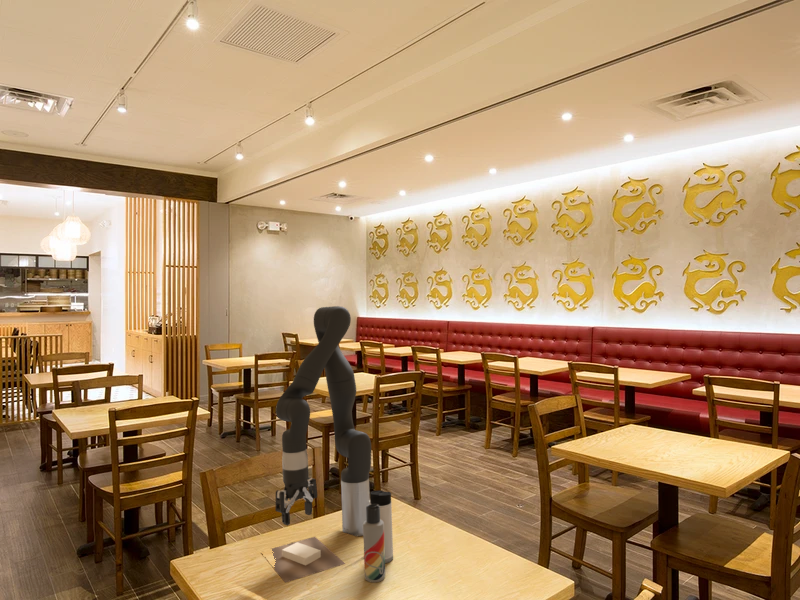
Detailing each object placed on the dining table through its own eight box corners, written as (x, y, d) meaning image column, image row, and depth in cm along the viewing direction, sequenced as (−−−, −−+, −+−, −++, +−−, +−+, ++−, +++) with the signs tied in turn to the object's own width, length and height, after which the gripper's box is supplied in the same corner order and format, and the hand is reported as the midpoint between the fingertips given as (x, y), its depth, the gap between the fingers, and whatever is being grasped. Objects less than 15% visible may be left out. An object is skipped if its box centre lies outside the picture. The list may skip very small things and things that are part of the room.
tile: (282, 549, 160) (305, 558, 154) (297, 542, 165) (320, 550, 159) (282, 556, 160) (305, 565, 154) (297, 548, 165) (320, 557, 159)
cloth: (314, 539, 173) (314, 536, 173) (345, 567, 154) (345, 563, 154) (259, 555, 163) (259, 551, 163) (285, 586, 145) (285, 582, 145)
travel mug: (367, 561, 157) (365, 493, 157) (378, 552, 163) (376, 486, 163) (386, 566, 154) (383, 496, 154) (396, 556, 160) (394, 488, 160)
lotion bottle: (376, 585, 144) (374, 510, 144) (360, 578, 147) (358, 505, 148) (389, 576, 148) (387, 503, 149) (373, 570, 152) (371, 499, 152)
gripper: (285, 474, 152) (287, 531, 152) (321, 460, 163) (324, 513, 163) (267, 469, 156) (270, 525, 157) (304, 456, 168) (306, 508, 168)
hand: (297, 519), depth 160 cm, fingers open, 8 cm apart
